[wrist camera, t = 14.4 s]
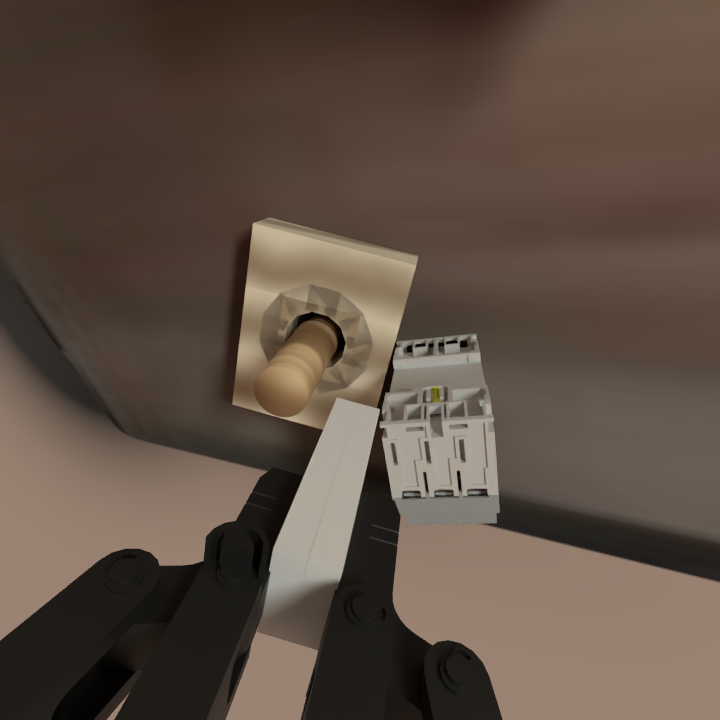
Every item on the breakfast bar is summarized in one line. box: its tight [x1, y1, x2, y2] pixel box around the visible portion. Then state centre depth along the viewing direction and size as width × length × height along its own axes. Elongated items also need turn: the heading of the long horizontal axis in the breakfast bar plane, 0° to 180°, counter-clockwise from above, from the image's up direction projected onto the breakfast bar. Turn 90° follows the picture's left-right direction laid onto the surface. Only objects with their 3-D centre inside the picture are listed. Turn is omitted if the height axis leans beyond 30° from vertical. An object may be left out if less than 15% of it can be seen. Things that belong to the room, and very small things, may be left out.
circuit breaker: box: [380, 334, 500, 525], centre depth 40 cm, size 8×14×15 cm, turn 10°
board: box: [232, 218, 418, 430], centre depth 43 cm, size 18×14×4 cm
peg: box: [254, 313, 342, 417], centre depth 39 cm, size 4×4×14 cm
